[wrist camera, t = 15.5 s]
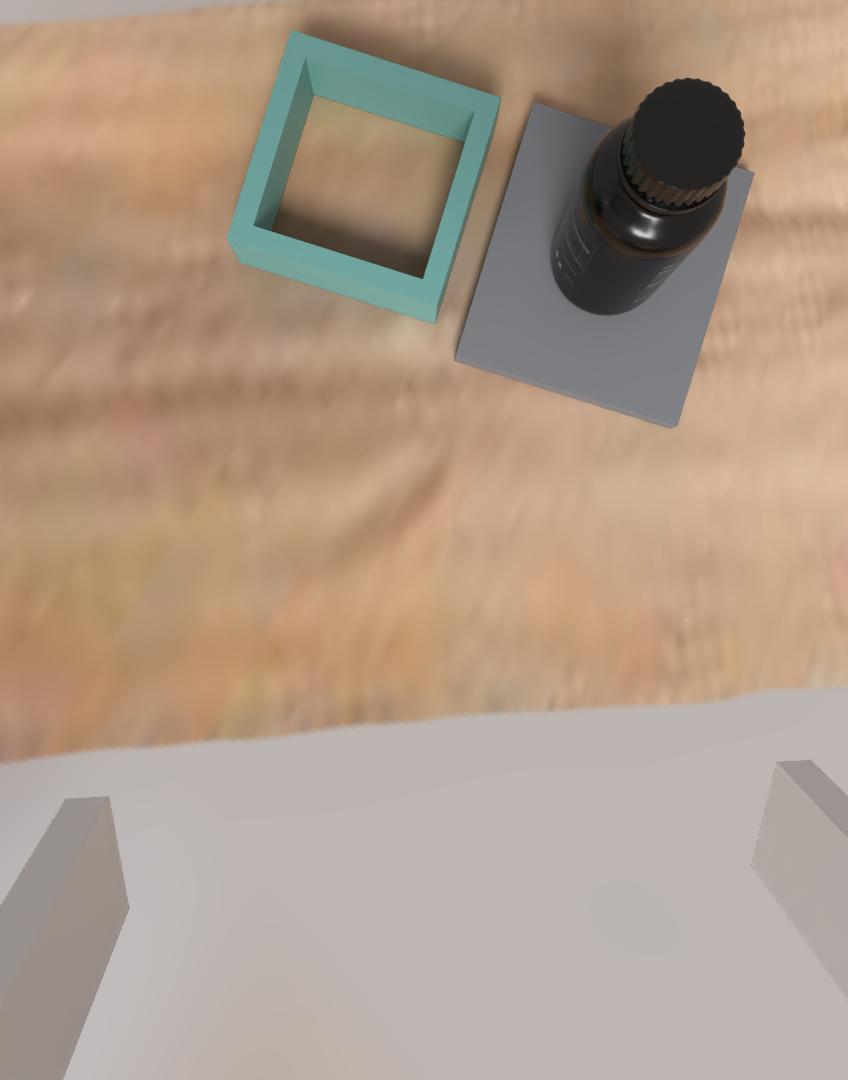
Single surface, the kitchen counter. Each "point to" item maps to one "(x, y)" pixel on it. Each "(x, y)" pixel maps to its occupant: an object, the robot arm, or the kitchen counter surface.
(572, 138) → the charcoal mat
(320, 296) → the kitchen counter surface
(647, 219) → the supplement bottle
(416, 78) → the teal collar
